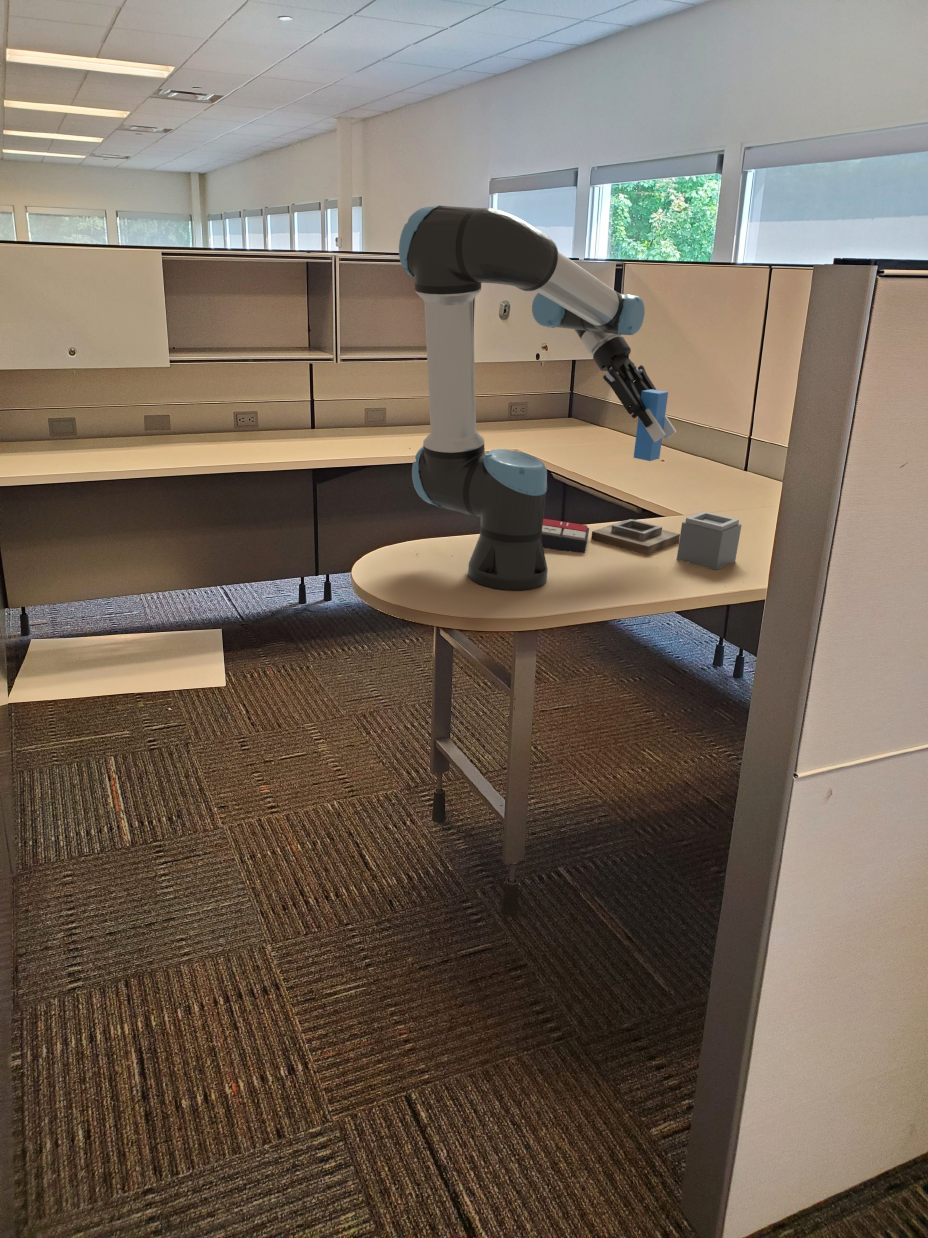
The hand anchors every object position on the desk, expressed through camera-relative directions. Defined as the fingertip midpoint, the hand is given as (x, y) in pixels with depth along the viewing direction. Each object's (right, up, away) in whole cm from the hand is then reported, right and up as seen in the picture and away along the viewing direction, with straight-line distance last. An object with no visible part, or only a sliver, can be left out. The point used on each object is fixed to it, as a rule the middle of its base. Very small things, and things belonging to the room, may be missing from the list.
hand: (665, 436), depth 195 cm
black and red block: (-23, -22, +7) cm, 33 cm away
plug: (-3, -4, +4) cm, 6 cm away
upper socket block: (+9, -26, +1) cm, 27 cm away
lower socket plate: (-4, -21, +11) cm, 24 cm away
